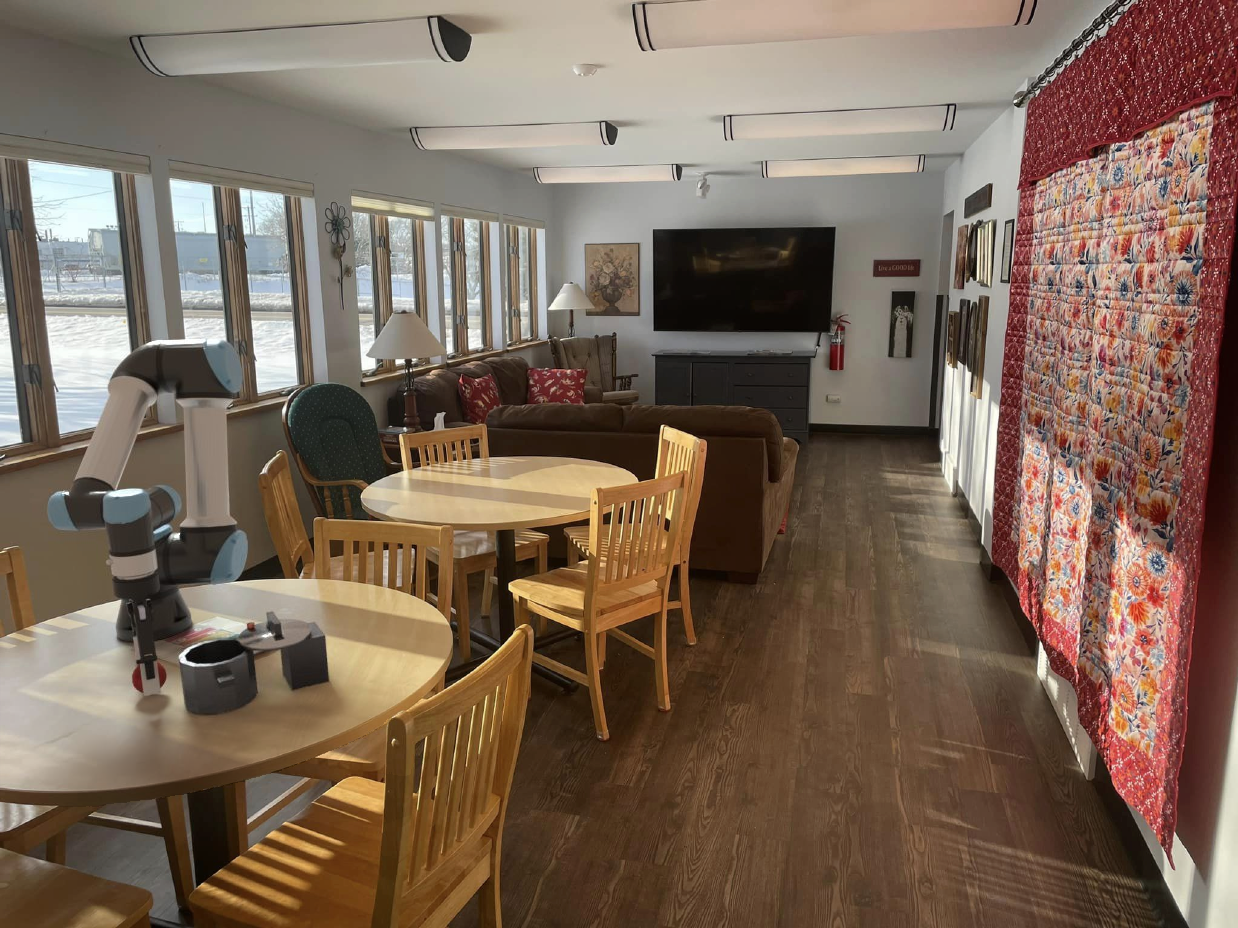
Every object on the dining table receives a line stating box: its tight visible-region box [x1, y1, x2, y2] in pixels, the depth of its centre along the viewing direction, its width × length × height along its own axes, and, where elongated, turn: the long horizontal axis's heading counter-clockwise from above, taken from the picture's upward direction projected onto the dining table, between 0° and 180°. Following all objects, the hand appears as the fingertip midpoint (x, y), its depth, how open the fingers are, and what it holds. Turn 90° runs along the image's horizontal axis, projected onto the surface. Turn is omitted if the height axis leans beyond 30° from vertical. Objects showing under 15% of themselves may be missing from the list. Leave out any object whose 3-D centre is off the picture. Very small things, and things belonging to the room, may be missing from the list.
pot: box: [178, 637, 259, 716], centre depth 168 cm, size 21×12×10 cm, turn 32°
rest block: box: [279, 621, 330, 691], centre depth 176 cm, size 8×7×10 cm
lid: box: [237, 610, 311, 652], centre depth 172 cm, size 13×13×4 cm
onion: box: [131, 655, 168, 696], centre depth 169 cm, size 6×6×8 cm
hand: (148, 680), depth 169 cm, fingers open, 13 cm apart
